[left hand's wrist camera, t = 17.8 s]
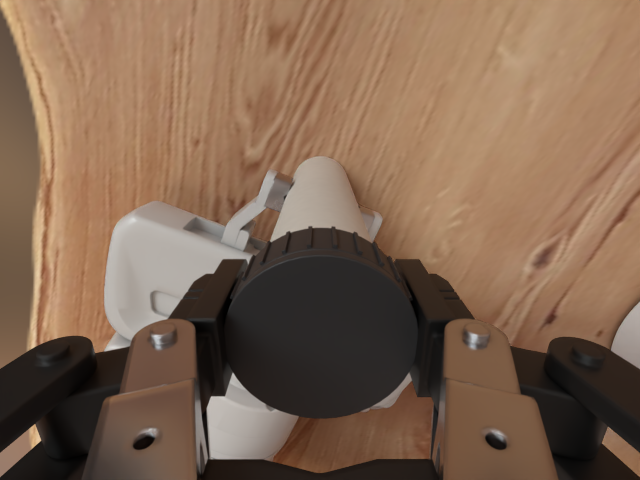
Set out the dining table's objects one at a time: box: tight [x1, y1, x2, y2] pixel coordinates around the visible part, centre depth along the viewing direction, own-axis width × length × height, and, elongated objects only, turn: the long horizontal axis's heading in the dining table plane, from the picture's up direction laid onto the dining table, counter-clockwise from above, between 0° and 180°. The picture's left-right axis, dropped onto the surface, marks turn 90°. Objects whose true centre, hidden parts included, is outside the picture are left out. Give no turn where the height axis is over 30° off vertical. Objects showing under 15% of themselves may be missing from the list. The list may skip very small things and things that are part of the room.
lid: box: [224, 226, 418, 418], centre depth 10 cm, size 5×5×2 cm
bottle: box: [270, 156, 372, 243], centre depth 18 cm, size 4×4×18 cm
